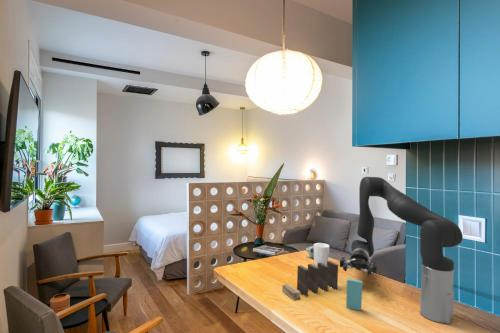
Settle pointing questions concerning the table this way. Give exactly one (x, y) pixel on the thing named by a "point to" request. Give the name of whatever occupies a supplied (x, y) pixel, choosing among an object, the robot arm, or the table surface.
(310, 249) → the robot head
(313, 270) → the domino
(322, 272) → the domino
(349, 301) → the domino
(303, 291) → the domino
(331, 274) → the domino
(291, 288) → the end stop
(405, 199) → the robot arm
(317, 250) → the white cup
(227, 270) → the table surface
